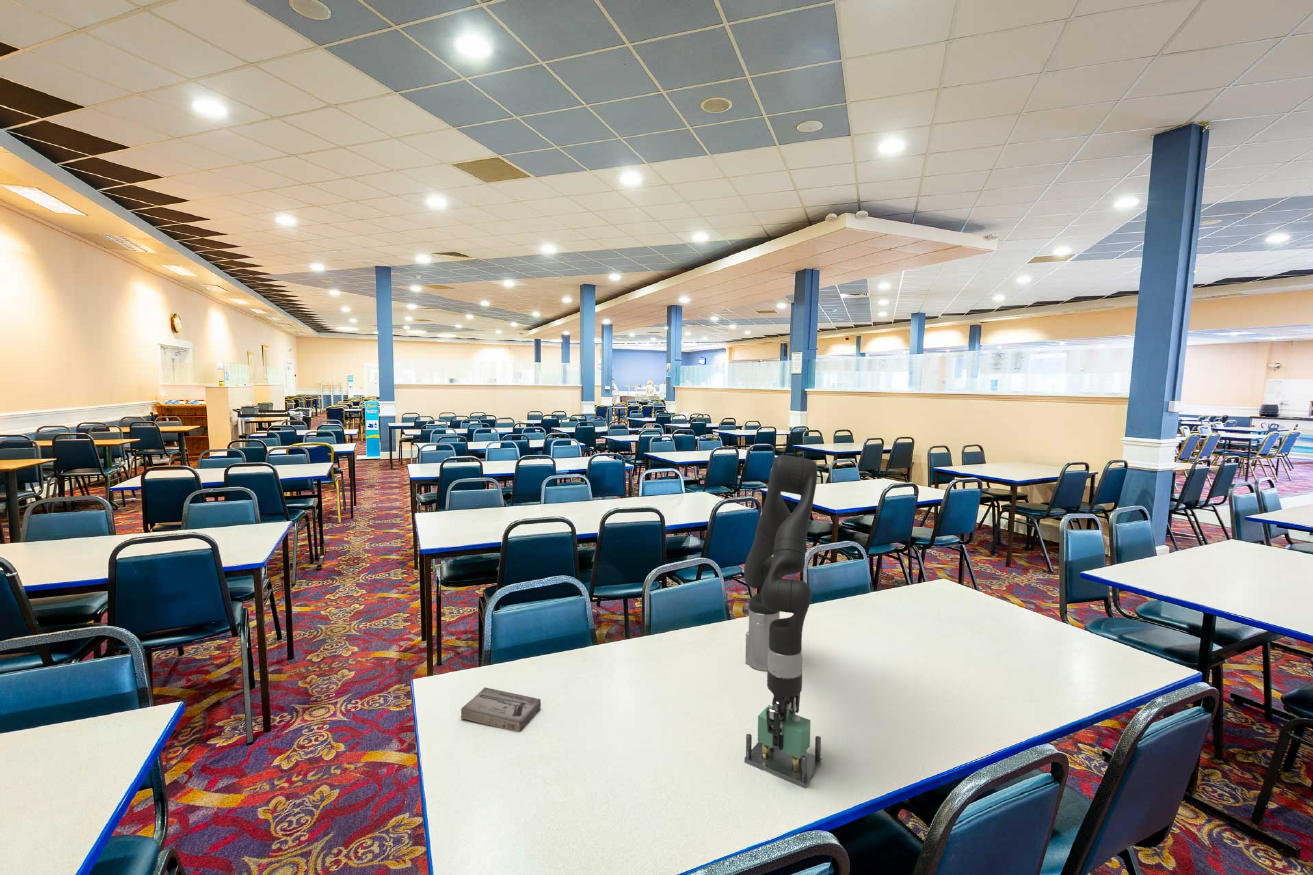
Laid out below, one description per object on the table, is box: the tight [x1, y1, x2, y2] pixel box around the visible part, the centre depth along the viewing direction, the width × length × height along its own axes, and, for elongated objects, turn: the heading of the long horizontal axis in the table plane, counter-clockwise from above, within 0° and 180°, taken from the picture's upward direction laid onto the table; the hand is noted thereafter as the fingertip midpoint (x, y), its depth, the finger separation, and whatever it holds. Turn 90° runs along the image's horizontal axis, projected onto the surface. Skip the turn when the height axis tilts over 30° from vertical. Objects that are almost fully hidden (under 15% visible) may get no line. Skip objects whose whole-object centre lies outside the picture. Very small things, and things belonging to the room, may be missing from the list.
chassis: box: [744, 733, 823, 789], centre depth 123 cm, size 14×10×6 cm
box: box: [460, 687, 542, 733], centre depth 141 cm, size 11×17×3 cm, turn 73°
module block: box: [757, 704, 812, 759], centre depth 122 cm, size 10×6×7 cm, turn 53°
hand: (783, 740), depth 122 cm, fingers closed on module block, 5 cm apart
